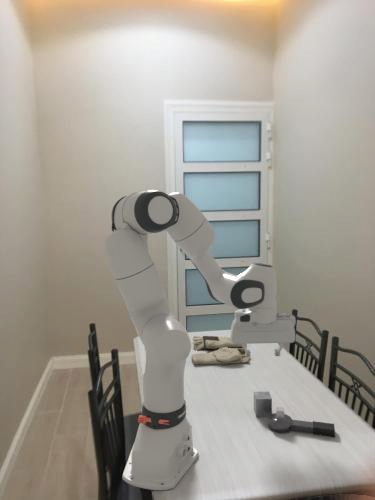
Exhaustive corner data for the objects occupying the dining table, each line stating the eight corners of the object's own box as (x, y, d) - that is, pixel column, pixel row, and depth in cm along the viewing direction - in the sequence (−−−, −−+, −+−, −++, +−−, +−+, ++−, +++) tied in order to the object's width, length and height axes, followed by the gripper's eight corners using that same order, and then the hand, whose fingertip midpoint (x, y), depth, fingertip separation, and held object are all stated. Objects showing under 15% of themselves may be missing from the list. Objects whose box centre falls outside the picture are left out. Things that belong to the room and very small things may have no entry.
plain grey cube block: (271, 416, 129) (271, 398, 128) (256, 416, 129) (256, 399, 128) (268, 408, 134) (269, 391, 133) (253, 408, 134) (253, 391, 133)
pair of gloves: (192, 342, 199) (192, 332, 198) (244, 342, 198) (244, 331, 197) (190, 367, 169) (190, 355, 169) (252, 367, 168) (252, 354, 168)
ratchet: (335, 440, 115) (335, 422, 114) (267, 431, 120) (267, 413, 120) (333, 427, 122) (333, 409, 121) (269, 419, 127) (269, 402, 126)
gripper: (293, 310, 130) (292, 351, 132) (229, 311, 131) (230, 352, 132) (298, 315, 124) (297, 359, 126) (231, 317, 124) (232, 360, 126)
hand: (262, 355), depth 129 cm, fingers open, 8 cm apart
